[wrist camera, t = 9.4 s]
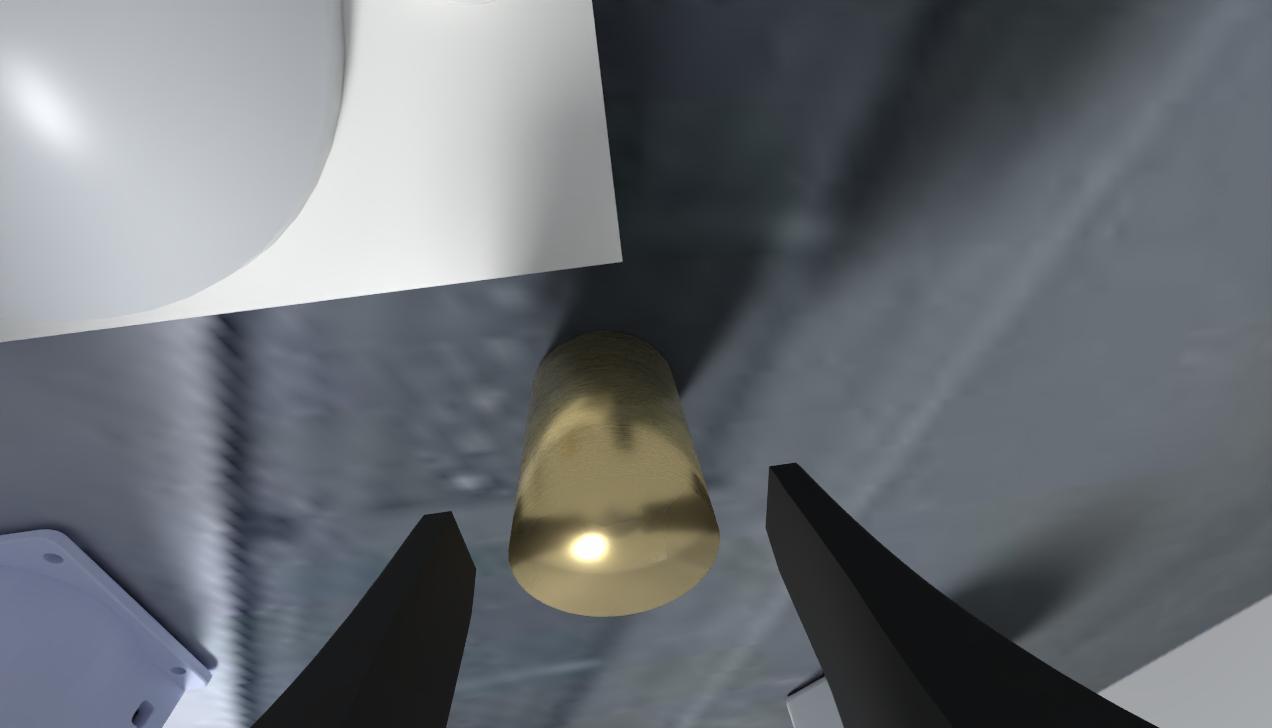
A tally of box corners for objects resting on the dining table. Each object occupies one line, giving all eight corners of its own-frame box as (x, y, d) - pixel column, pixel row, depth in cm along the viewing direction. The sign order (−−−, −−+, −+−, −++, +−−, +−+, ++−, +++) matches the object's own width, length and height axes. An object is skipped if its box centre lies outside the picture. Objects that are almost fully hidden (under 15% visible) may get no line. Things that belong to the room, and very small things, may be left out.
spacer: (678, 438, 17) (720, 600, 12) (547, 457, 17) (533, 628, 12) (669, 321, 15) (719, 460, 9) (517, 342, 14) (483, 493, 9)
